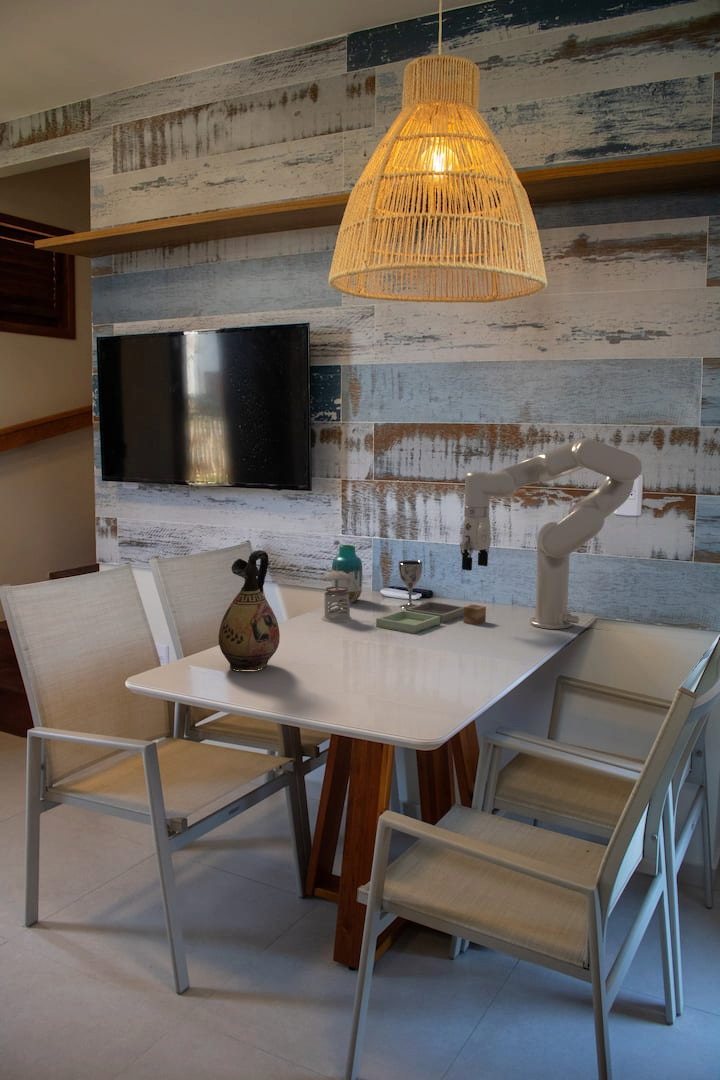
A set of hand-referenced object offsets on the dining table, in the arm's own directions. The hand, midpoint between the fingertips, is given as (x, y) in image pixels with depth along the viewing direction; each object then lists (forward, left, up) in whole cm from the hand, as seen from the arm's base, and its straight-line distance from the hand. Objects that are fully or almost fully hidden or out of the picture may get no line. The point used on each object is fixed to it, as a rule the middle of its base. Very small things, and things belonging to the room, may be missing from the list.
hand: (474, 567), depth 267 cm
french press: (+36, +22, -17) cm, 45 cm away
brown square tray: (+14, 0, -17) cm, 22 cm away
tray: (+14, +16, -17) cm, 27 cm away
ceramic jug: (+22, +76, -17) cm, 81 cm away
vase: (+50, 0, -17) cm, 53 cm away
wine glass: (+28, -6, -17) cm, 33 cm away
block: (0, 0, -17) cm, 17 cm away
